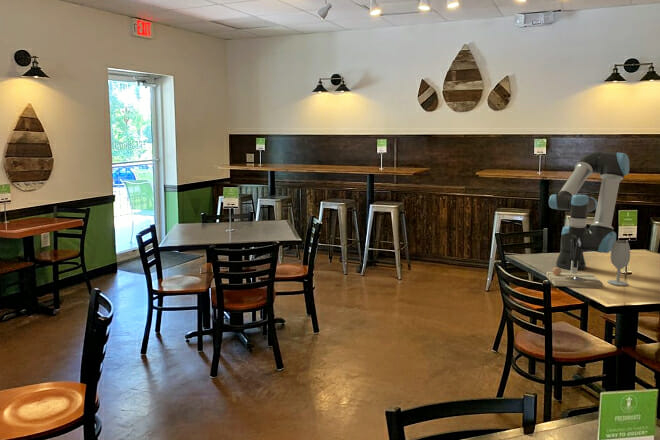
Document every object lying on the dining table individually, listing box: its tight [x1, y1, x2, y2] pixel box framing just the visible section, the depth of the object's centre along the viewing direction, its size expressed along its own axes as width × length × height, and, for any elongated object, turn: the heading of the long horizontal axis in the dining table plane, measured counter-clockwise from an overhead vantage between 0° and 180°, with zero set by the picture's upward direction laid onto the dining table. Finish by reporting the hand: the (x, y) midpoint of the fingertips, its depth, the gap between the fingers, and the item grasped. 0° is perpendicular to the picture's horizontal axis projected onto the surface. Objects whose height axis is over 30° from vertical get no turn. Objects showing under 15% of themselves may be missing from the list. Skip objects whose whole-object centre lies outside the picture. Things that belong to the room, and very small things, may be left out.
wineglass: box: [607, 240, 631, 287], centre depth 283 cm, size 9×9×21 cm
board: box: [545, 271, 604, 289], centre depth 287 cm, size 18×22×2 cm
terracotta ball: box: [552, 266, 562, 275], centre depth 290 cm, size 4×4×4 cm
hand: (573, 273), depth 287 cm, fingers closed
